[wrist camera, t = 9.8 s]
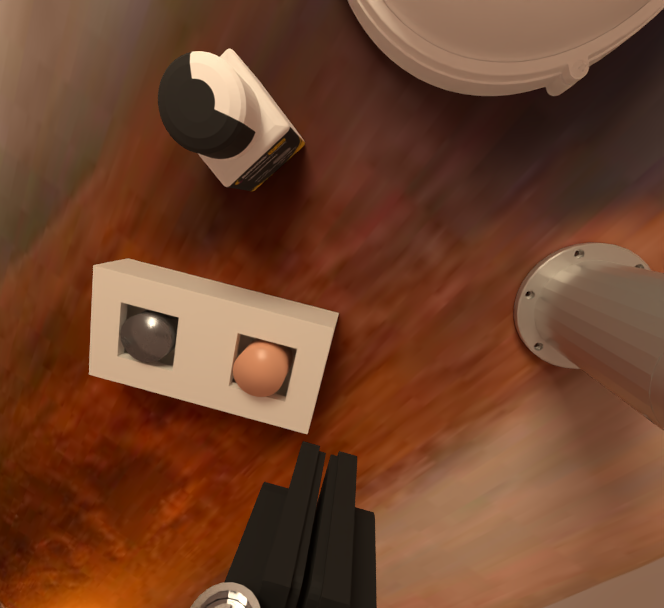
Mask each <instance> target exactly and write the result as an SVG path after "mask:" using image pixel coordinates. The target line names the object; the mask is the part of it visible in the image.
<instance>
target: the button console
mask: <svg viewBox="0 0 664 608" xmlns="http://www.w3.org/2000/svg"><path fill="white" fill-rule="evenodd" d="M148 309H149V310H152V311H156V312H160V313H164V314H167V315H171V316H175V317H179V321H178V329H177V338H176V346H175V349H174V350H172V351H171V352H170V353H168V354H167V355H165V356H164V357H163V358H161V359H160V360H158V361H155V362H150V363H147V362H142V361H139V360H137V359H135V358H133V357H132V356H131V355H130V354H129V353H128V352H127V351H126V350H125V348H124V347H123V345H122V342H121V337H120V332H121V327H122V325H123V323H124V322H125V321H126V320H127V319H128V318H130V317H132V316H134V315H137V314H139V313H141V312H143V311H146V310H148ZM338 315H339V313H336V312H333V311H329V310H325V309H321V308H317V307H313V306H310V305H306V304H302V303H298V302H294V301H290V300H286V299H283V298H279V297H275V296H271V295H267V294H263V293H259V292H256V291H252V290H248V289H244V288H240V287H236V286H232V285H229V284H225V283H221V282H217V281H213V280H209V279H205V278H202V277H198V276H194V275H190V274H186V273H182V272H179V271H175V270H171V269H167V268H163V267H159V266H155V265H152V264H148V263H144V262H140V261H136V260H132V259H123V260H118V261H113V262H108V263H103V264H97V265H93V287H92V312H91V336H90V361H89V375H93V376H96V377H100V378H104V379H107V380H111V381H115V382H118V383H122V384H126V385H129V386H133V387H136V388H140V389H144V390H147V391H151V392H155V393H158V394H162V395H166V396H169V397H173V398H177V399H180V400H184V401H188V402H191V403H195V404H198V405H202V406H206V407H209V408H213V409H217V410H220V411H224V412H228V413H231V414H235V415H239V416H242V417H246V418H250V419H253V420H257V421H260V422H264V423H268V424H271V425H275V426H279V427H282V428H286V429H290V430H293V431H297V432H301V433H304V434H308V431H309V427H310V423H311V420H312V416H313V413H314V409H315V405H316V401H317V397H318V393H319V390H320V386H321V382H322V378H323V374H324V370H325V366H326V362H327V358H328V354H329V350H330V346H331V343H332V339H333V335H334V331H335V327H336V323H337V319H338ZM255 338H258V339H262V340H266V341H269V342H273V343H277V344H281V345H285V346H288V347H290V349H291V351H292V356H293V361H292V365H291V367H290V369H289V371H288V373H287V375H286V377H285V379H284V381H283V383H282V385H281V387H280V388H279V390H278V391H277V392H275V393H274V394H272V395H270V396H266V397H256V396H252V395H250V394H247V393H246V392H244V391H243V390H242V389H241V388H240V387H239V386H238V385H237V383H236V381H235V379H234V376H233V366H234V363H235V361H236V359H237V358H238V356H239V355H240V354H241V353H242V352H243V351H244V350H245V349H246V348H247V346H248V345H249V344H250V343H251V342H252V341H253V340H254V339H255Z"/></svg>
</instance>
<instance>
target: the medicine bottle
mask: <svg viewBox="0 0 664 608" xmlns="http://www.w3.org/2000/svg"><path fill="white" fill-rule="evenodd" d="M158 106H159V112H160V116H161V119H162V122H163V124H164V126H165V128H166V130H167V131H168V133H169V134H170V136H171V137H172V138H173V139H174V140H175V141H176V142H177V143H178V144H179V145H181V146H182V147H184V148H185V149H187V150H189V151H192V152H195V153H198V154H199V156H200V157H201V158H202V159H203V161H204V162H205V163H206V164H207V166H208V167H209V168H210V169H211V170H212V172H213V173H214V174H215V175H216V177H217V178H218V179H219V180H220V182H221V183H222V184H223V185H224V186H225V187H230V188H236V189H242V190H248V191H255V190H256V189H257V188H258V187H259V186H260V185H261V184H262V183H263V182H265V181H266V180H267V179H268V178H269V177H270V176H271V175H272V174H273V173H274V172H276V171H277V170H278V169H279V168H280V167H281V166H282V165H283V164H284V163H285V162H287V161H288V160H289V159H290V158H291V157H292V156H293V155H294V154H295V153H297V152H298V151H299V150H300V149H301V148H302V147H303V146H304V144H305V142H304V140H303V139H302V137H301V136H300V135H299V133H298V132H297V131H296V129H295V128H294V127H293V125H292V124H291V123H290V121H289V120H288V119H287V117H286V116H285V115H284V113H283V112H282V111H281V109H280V108H279V107H278V105H277V104H276V103H275V101H274V100H273V99H272V97H271V96H270V95H269V93H268V92H267V91H266V89H265V88H264V87H263V85H262V84H261V83H260V81H259V80H258V79H257V78H256V77H255V75H254V74H253V73H252V72H251V71H250V69H249V68H248V67H247V66H246V65H245V64H244V62H243V61H242V60H241V59H240V58H239V56H238V55H237V54H236V53H235V52H234V51H233V50H232V49H227V50H226V51H225V52H224V53H223V54H222V55H221V56H220V57H218V56H217V55H214V54H212V53H208V52H201V51H196V52H190V53H186V54H184V55H182V56H180V57H178V58H177V59H176V60H174V61H173V62H172V63H171V64H170V65H169V67H168V68H167V69H166V71H165V73H164V75H163V77H162V79H161V82H160V86H159V92H158Z"/></svg>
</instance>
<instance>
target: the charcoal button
mask: <svg viewBox="0 0 664 608" xmlns="http://www.w3.org/2000/svg"><path fill="white" fill-rule="evenodd" d="M178 321H179V317H175V316H171V315H167V314H164V313H160V312H156V311H152V310H149V309H148V310H146V311H143V312H141V313H139V314H137V315H134V316H132V317H130V318H128V319H127V320H126V321H125V322H124V323H123V325H122V327H121V332H120V337H121V342H122V345H123V347H124V348H125V350H126V351H127V352H128V353H129V354H130V355H131V356H132V357H133V358H135V359H137V360H139V361H142V362H147V363H150V362H155V361H158V360H160V359H161V358H163V357H164V356H165V355H167V354H168V353H170V352H171V351H172V350H174V349H175V346H176V338H177V329H178Z"/></svg>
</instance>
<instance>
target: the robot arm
mask: <svg viewBox="0 0 664 608" xmlns="http://www.w3.org/2000/svg"><path fill="white" fill-rule="evenodd" d="M575 252H576V255H574V254H575ZM527 292H528V295H525V294H526V293H527ZM514 321H515V326H516V329H517V332H518V334H519V337H520V338H521V340H522V341H523V343H524V344H525V345H526V347H527V348H528V349H530V350H531V351H532V352H533V353H534V354H535V355H537V356H538V357H539V358H541V359H542V360H544V361H546V362H548V363H550V364H552V365H555V366H559V367H563V368H571V369H582V370H583V371H584V372H586V373H587V374H588V375H590V376H591V377H592V378H594V379H595V380H596V381H598V382H599V383H600V384H602V385H603V386H604V387H606V388H607V389H608V390H610V391H611V392H612V393H614V394H615V395H616V396H618V397H619V398H620V399H622V400H623V401H624V402H626V403H627V404H628V405H630V406H631V407H632V408H634V409H635V410H636V411H638V412H639V413H640V414H642V415H643V416H644V417H646V418H647V419H649V420H650V421H651V422H653V423H654V424H655V425H657V426H658V427H659V428H661V429H662V430H664V273H661V272H656V271H651V269H650V267H649V266H648V264H647V263H646V262H645V261H644V260H643V259H641V258H640V257H639V256H638V255H636V254H635V253H633V252H632V251H630V250H628V249H625V248H623V247H620V246H617V245H612V244H606V243H592V242H589V243H581V244H575V245H572V246H568V247H565V248H562V249H560V250H558V251H556V252H554V253H552V254H550V255H549V256H547V257H546V258H545V259H543V260H542V261H540V262H539V263H538V264H537V265H536V266H535V267H534V268H533V269H532V270H531V271H530V272H529V274H528V275H527V276H526V278H525V279H524V281H523V282H522V284H521V286H520V288H519V291H518V293H517V296H516V300H515V304H514ZM536 343H537V344H536ZM535 344H536V345H535ZM319 449H320V446H318V445H315V444H311V443H307V442H304V441H303V442H302V445H301V449H300V452H299V456H298V459H297V462H296V466H295V469H294V473H293V476H292V480H291V483H290V487H289V489H288V488H285V487H281V486H277V485H274V484H270V483H267V482H264V483H263V485H262V488H261V490H260V493H259V495H258V498H257V500H256V503H255V506H254V508H253V511H252V513H251V516H250V518H249V521H248V523H247V526H246V529H245V531H244V534H243V536H242V539H241V541H240V544H239V547H238V549H237V552H236V554H235V557H234V559H233V562H232V565H231V567H230V570H229V572H228V575H227V577H226V580H225V582H224V583H220V584H217V585H215V586H212V587H210V588H209V589H207V590H206V591H205V592H203V593H202V594H201V595H200V596H199V597H198V598H197V600H196V601H195V602H194V603H193V605H192V606H191V608H377V606H376V552H375V515H374V512H370V511H366V510H363V509H359V508H356V507H355V493H356V473H357V456H355V455H351V454H347V453H344V452H340V451H339V453H338V456H335V455H331V456H330V460H329V463H328V467H327V470H326V474H325V477H324V481H323V484H322V488H321V491H320V495H319V498H318V493H319V488H320V482H321V477H322V471H323V466H324V460H325V454H326V453H324V452H320V451H319ZM317 499H318V502H317ZM316 504H317V505H316Z"/></svg>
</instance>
